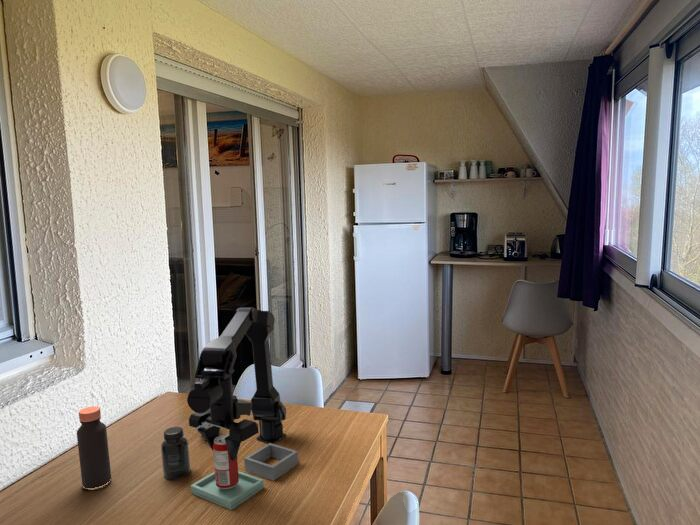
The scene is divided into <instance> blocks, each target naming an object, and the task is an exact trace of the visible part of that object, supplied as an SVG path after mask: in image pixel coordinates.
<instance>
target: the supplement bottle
mask: <svg viewBox="0 0 700 525" xmlns="http://www.w3.org/2000/svg"><path fill="white" fill-rule="evenodd" d="M160 452H161V460H162V472H163V477H164V478H165V477H166V479H167V478H168V479H167V480H178V479H182V478H184V477H186V476H187V475H189V473H191V461H190V460H191V459H190V450H189V441H188V438H186V437H185V434H184V428H183V427H181V426H172V427H169V428H167V429H165V430H164V431H163V441H162V442H161V446H160Z"/></svg>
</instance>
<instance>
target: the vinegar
mask: <svg viewBox="0 0 700 525" xmlns="http://www.w3.org/2000/svg"><path fill="white" fill-rule="evenodd" d="M78 417H79V418H78V419H79V423H80V426H79V427H78V429H77V431H76V440H77V448H78V457H79V467H80V476H81V484H82V485H83V486H84V487H85V488H95V487H99V486H102V485H104V484H106V483H107V482H109V481H110V479H111V480H112V471H111V462H110V452H109V441H108V432H107V431H108V430H107V426H106V424H105V423H103V422H102V421H101V419H102V418H101V417H102V413H101V408H100V406H96V405H95V406H87V407H84V408H82V409H80V410H79V411H78ZM82 485H81V486H82ZM83 486H82V487H83Z"/></svg>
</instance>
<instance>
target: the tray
mask: <svg viewBox="0 0 700 525" xmlns="http://www.w3.org/2000/svg"><path fill="white" fill-rule="evenodd" d="M238 476H239V481H238V483H237V484H236V486H234V487H232V488H230V489H220V488H219V487H217V486H216V480H215V471H213V472H212V473H209V474H208V475H206V476H205V477H202V478H201V479H199V480H197V481H196V482H194V483H192V484H191V485H190V493H191V494H192V495H195V496H197V497H199V498H201V499H204V500H207V501H208V502H211V503H214V504H216V505H218V506H221V507H223V508H226V509H228V510H234V509H235V508H236V507H238V506H239V505H241V504H242V503H243V502H246V501H247V500H248V499H250V498H251V497H253V496H254V495H255V494H256V493H258V492H260V491H261V490H262V489H264V488H265V484H264V482H265V481H264V479H262V478H259V477H256V476H254V475H251V474H248V473H245V472H242V471H240V470H238Z"/></svg>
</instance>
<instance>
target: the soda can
mask: <svg viewBox="0 0 700 525" xmlns="http://www.w3.org/2000/svg"><path fill="white" fill-rule="evenodd" d="M228 436H229V433H228V434H221V435H219V436H218V437H216V438H215V439H214V443H213V451H212V452H213V465H214V466H213V467H214V472H215V480H216V486H217V487H219V488H220V489H230V488H232V487H234V486H236V484H237V483H238V481H239V476H238V471H239V464H238V463H239V462H238V456H237V457H236V459H235V460H234V461H232V460H231V457H230V455H229V452H228V448H227V445H226V442H225V439H224V438H226V437H228Z"/></svg>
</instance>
